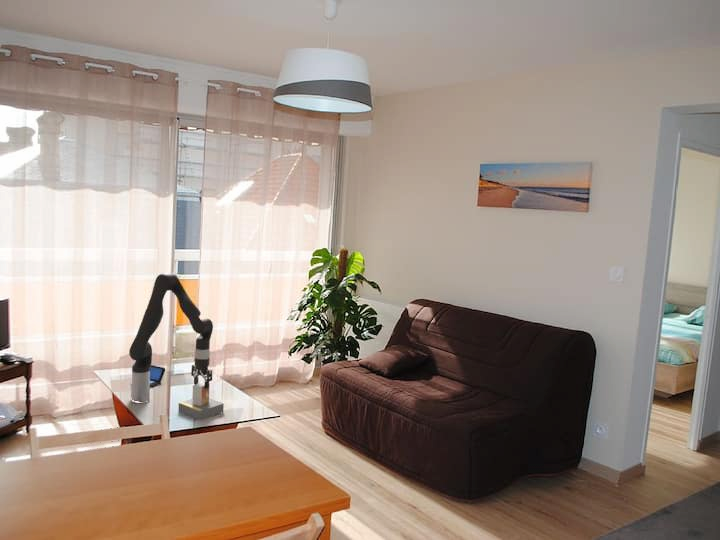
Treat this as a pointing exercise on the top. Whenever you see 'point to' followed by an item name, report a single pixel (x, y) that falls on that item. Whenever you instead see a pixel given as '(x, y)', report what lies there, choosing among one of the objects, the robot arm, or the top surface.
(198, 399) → the small box
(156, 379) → the laptop
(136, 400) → the robot arm
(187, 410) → the loading dock
